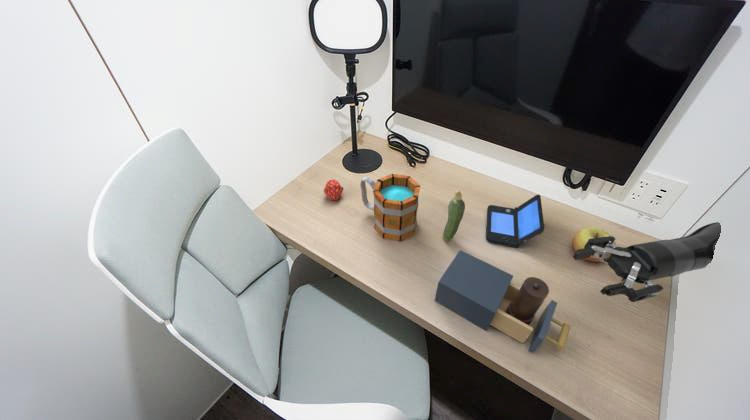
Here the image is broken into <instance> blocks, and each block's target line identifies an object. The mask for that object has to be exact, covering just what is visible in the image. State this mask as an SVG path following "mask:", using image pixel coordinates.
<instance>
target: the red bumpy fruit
mask: <svg viewBox="0 0 750 420" xmlns="http://www.w3.org/2000/svg"><path fill="white" fill-rule="evenodd" d="M343 190H344V187H343V185H341V183H340V182H339V181H338V180H336V179H329V180H328V181H327V182H326V184H325V185H324V189H323V193H324V194H325V196H326V197H327V198H328V199H330V200H332V201H337V200H338V199H340V198H341V195H342V193H343Z"/></svg>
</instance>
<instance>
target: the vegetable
mask: <svg viewBox="0 0 750 420" xmlns="http://www.w3.org/2000/svg"><path fill="white" fill-rule="evenodd" d="M465 210H466V204H465V201H464V200H463V196H462V192H461V191H460V190H459V189H457V190H456V192H455V193H454V198H452V199H451V200H450V201H449V202H448V206H447V221H446V223H445V225H444V230H443V233H442V239H443V240H444V241H446V242H451V240H453V239H454V237H455V236H456V234H457V232H458V230H459V226H460V224H461V222H462V219H463V217H464V214H465Z"/></svg>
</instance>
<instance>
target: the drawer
mask: <svg viewBox="0 0 750 420" xmlns="http://www.w3.org/2000/svg"><path fill="white" fill-rule="evenodd" d="M520 288H521V286H519V285H516V284H514V282H513V283H512V281H511V282H510V284H509V286H508V289H507V291H506V293H505V295H504V297H503V299H502V301H501V303H500V305H499V307H498V309H497V311H496V313H495V315H494V317H493V319H492V321H491V323H490V325H489V326H492V327H494V328H495V329H497V330H499V331H500V332H502V333H504V334H505V335H507V336H509V337H511V338H513V339H515V340H516V341H518V342H519V343H521V344H525V342H526V341H527V339H528V338H529V337H530V335H531V334H532V332H533V331H534V332H533V335H532V339H531V341H530V344H529V347H528V348H527V351H528V352H530V353H532V354H535V353H536V351H537V350H538V349H539V347H541V345H542V344H543V343H544V342H545V340H546V341H547V342H549V343H551V344H553V345H555V348H557V349H558V350H560V351H563V350H565V347H566V343H567V339H568V337H569V332H570V329H571V324H569V323H567V322H561V321H560V320H558V319H556V318H554V315H555V311H556V308H557V305H558V302H557V301H555V300H553V299H551V300H550V301H549V303H548V304H547V306H546V307H545V308H544V309H543V311H542V312H541V314H540V316H539V319H538V322H537V324H536V328H535V329H534V327H533V326H532V324H533V321H534V319H533V320H532V322H531V323H530V325H527V324H525V323H523V322H521V321H520V320H518V319H516V318H514V317H512V316H510V315H509V314H507V313H505V311H506V309H507V307H508V305H509V303H510V302H511V301H512V300H514V299H515V297H516V295H517V293H518V291H519V290H520ZM544 302H545V300H544V301H543V302H542V304H541V305H540V307H539V308H538V310H537V311H536V312H535V314H537V312H538V311H539V310H540V308H541V307H542V305H543V304H544ZM551 322H552V323H554V324H556V325H558V326H559V327H561V329H560V333H559V335H558V339H557V340H555V339H554V338H551V337H549V336H548V335H547V334H548V332H549V329H550V325H551Z"/></svg>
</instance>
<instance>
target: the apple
mask: <svg viewBox="0 0 750 420" xmlns="http://www.w3.org/2000/svg"><path fill="white" fill-rule="evenodd" d="M608 236H612V235H611V234H610V233H609V232H608V231H606V230H604V229H603V228H602V229H601V228H599V227H593V226H591V227H585V228H582V229H580V230H578V231H577V232H576V233H575V234H574V237H573V239H572V241H571V243H572V249H573V251H574V253H575V252H576V251H577V250H578V249H583V248H584V246H585V244H586V243H587V242H588V240H589V239H592V238H600V237H608ZM614 243H615V244H616V240H615V241H614ZM595 253H598V254H600V253H599V252H595ZM609 257H610V254H608V255H607V256H606V258H609ZM583 260H585V261H587V262H589V263H590V262H591V263H601V262H600V261H599V260H598V259H596V258H593V257H590V258H585V259H583Z"/></svg>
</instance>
